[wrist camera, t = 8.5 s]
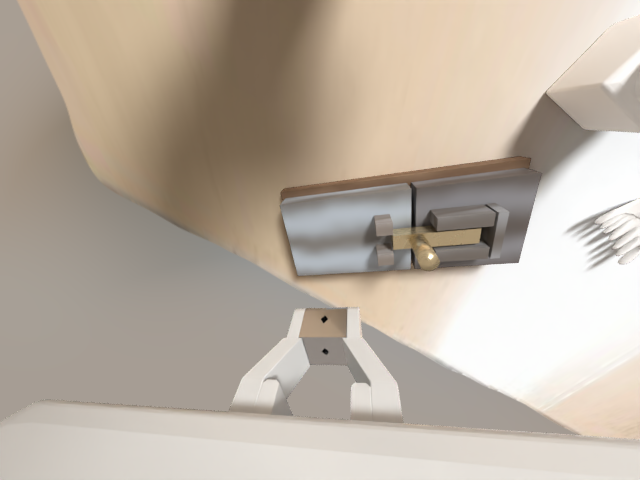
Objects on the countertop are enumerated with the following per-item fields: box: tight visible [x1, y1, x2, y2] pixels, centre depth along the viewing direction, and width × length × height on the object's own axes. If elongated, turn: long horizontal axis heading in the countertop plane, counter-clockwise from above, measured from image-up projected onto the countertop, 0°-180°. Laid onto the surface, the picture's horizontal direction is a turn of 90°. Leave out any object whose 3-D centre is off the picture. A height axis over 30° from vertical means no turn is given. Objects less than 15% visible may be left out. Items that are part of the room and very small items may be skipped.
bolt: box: [391, 225, 482, 271], centre depth 27 cm, size 2×10×7 cm, turn 99°
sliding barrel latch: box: [280, 156, 542, 276], centre depth 32 cm, size 14×32×8 cm, turn 100°
